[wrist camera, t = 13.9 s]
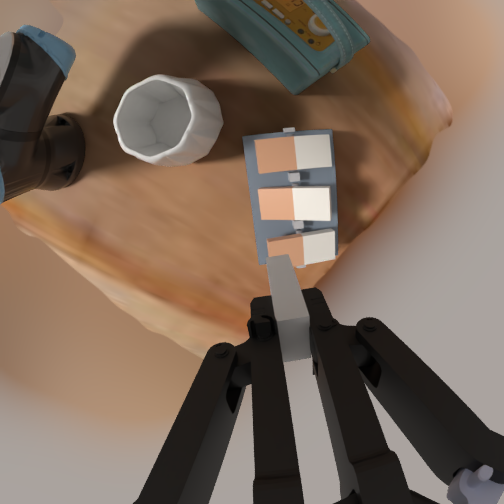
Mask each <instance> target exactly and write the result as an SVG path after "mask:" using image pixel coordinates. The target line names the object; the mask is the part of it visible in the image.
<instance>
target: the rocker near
mask: <svg viewBox="0 0 504 504" xmlns="http://www.w3.org/2000/svg"><path fill="white" fill-rule="evenodd" d="M286 135H287V137H279V138H269V139H260V140H254V141H255V149H256V157H257V165H258V173H259V174H263V173H271V172H280V171H289V170H290V171H298V169H308V168H320V167H332V160H331V148H330V137H329V134H325V135H305V136H294V134H286Z"/></svg>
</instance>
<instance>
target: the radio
mask: <svg viewBox="0 0 504 504" xmlns="http://www.w3.org/2000/svg"><path fill="white" fill-rule="evenodd" d="M195 2H196V5H197V7H198V9H199V10H200V11H201V12H203V13H204V14H205V15H207V16H208V17H209V18H211V19H212V20H213V21H214V22H216V23H217V24H218V25H219V26H221V27H222V28H223V29H224V30H225V31H227V32H228V33H229V34H230V35H231V36H233V37H234V38H235V39H236V40H237V41H238V42H239V43H241V44H242V45H243V46H244V47H245V48H246V49H247V50H248V51H249V52H250V53H252V54H253V55H254V56H255V57H256V58H257V59H258V60H259V61H260V62H261V63H262V64H263V65H264V66H265V67H266V68H267V69H268V70H269V71H270V72H271V73H272V74H273V75H274V76H275V77H276V78H277V79H278V80H279V81H280V82H281V83H282V84H283V85H284V86H285V87H286V88H287V89H288V90H289V91H290V93H291V94H293V95H298V94H299V93H301V92H302V91H303V90H305V89H306V88H307V87H309V86H310V85H311V84H313V83H314V82H316V81H317V80H318V79H320V78H321V77H323V76H324V75H325V74H327V73H328V72H331V73H332V74H333V73H334V72H336V71H337V70H338V69H340V68H341V67H343V66H344V65H346V64H347V63H349V61H350V60H351V59H352V58H353V56H354V54H355V53H356V52H357V51H359V50H360V49H362V48H363V47H364V46H366V45H367V44H369V42H370V38H369V36H368V35H367V34H366V33H365V32H364V31H363V29H362V28H361V27H360V26H359V25H358V24H357V23H356V22H355V21H354V20H353V19H352V18H351V17H350V16H349V15H348V14H347V13H346V12H345V11H344V10H343V9H342V8H341V7H340V6H339V5H338V4H337V3H336V2H334V1H333V0H195ZM248 6H249V7H248ZM272 26H273V27H272ZM282 35H283V36H282ZM314 67H315V68H314Z"/></svg>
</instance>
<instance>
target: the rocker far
mask: <svg viewBox="0 0 504 504" xmlns="http://www.w3.org/2000/svg"><path fill="white" fill-rule="evenodd" d="M267 247H268V256H269V257H272V256H279V255H285V254H289V257H290V260H291V262H292V265H293V267H296V266H301V265H306V264H312V263H317V262H322V261H327V260H332V259H335V231H334V230H333V229H331V228H330V229H323V230H317V231H311V232H305V233H302V229H297V230H296V234H293V235H287V236H281V237H275V238H269V239H267Z"/></svg>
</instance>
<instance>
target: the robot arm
mask: <svg viewBox="0 0 504 504" xmlns="http://www.w3.org/2000/svg"><path fill="white" fill-rule="evenodd" d="M75 58H76V54H75V50H74V49H73V47H72V46H70V45H69V44H68V43H66V42H65V41H63V40H61V39H60V38H58V37H56V36H54V35H52V34H50V33H48V32H44V31H42V30H41V29H39V28H36V27H33V26H30V25H23V26H22V27H20V29H19V30H17V32H16V33H13V32H6V33H4V34H2V35H1V36H0V204H1V203H3V202H5V201H7V200H9V199H11V198H14V197H16V196H18V195H21V194H23V193H25V192H28V191H30V190H33V189H41V190H48V191H54V190H58V189H61V188H64V187H66V186H68V185H69V184H71V183H72V182H73V181H74V180H75V178H76V177H77V175H78V174H79V172H80V170H81V167H82V164H83V161H84V156H85V141H84V136H83V132H82V130H81V128H80V126H79V124H78V123H77V122H76V121H75V120H74V119H73V118H71V117H69V116H67V115H52V116H49V113H50V111H51V108H52V106H53V104H54V101H55V99H56V97H57V95H58V93H59V91H60V89H61V87H62V84H63V82H64V81H65V80H66V79H67V77H68V73H69V71H70V69H71V67H72V65H73V63H74V61H75ZM48 116H49V117H48ZM266 264H267V270H268V277H269V284H270V290H271V295H270V296H263V297H256V298H254V299H253V300H252V302H251V303H250V306H251V318H250V319H249V320H248V323H247V327H248V331H249V336H250V338H249V339H248V340H247V341H246V342H244V343H242V344H240V345H238V346H235V347H234V346H233V345H232V344H230V343H226V342H224V343H218V344H215V345H213V346H212V347H210V349H209V350H208V352H207V354H206V356H205V358H204V360H203V362H202V365H201V367H200V369H199V371H198V373H197V375H196V377H195V379H194V381H193V383H192V386H191V388H190V390H189V392H188V394H187V396H186V398H185V401H184V403H183V405H182V407H181V409H180V411H179V413H178V415H177V417H176V420H175V422H174V424H173V426H172V428H171V430H170V432H169V434H168V437H167V439H166V441H165V443H164V445H163V447H162V449H161V451H160V453H159V455H158V458H157V460H156V462H155V464H154V466H153V468H152V470H151V473H150V475H149V477H148V479H147V481H146V483H145V485H144V487H143V489H142V491H141V493H140V495H139V498H138V499H137V500H136V501H135V502H134V503H133V504H208V503H209V500H210V498H211V495H212V492H213V489H214V486H215V483H216V480H217V477H218V474H219V471H220V468H221V465H222V462H223V459H224V456H225V453H226V450H227V447H228V444H229V441H230V438H231V435H232V431H233V428H234V425H235V422H236V418H237V415H238V412H239V409H240V406H241V402H242V399H243V395H244V392H245V389H246V386H247V385H249V384H252V408H253V435H254V458H255V459H254V460H255V479H254V481H253V504H304V499H303V491H302V484H301V478H300V472H299V465H298V458H297V451H296V444H295V437H294V430H293V424H292V417H291V410H290V403H289V397H288V390H287V384H286V377H285V371H284V365H283V362H288V361H294V360H300V359H306V358H311V354H312V358H313V375H315V376H316V380H317V384H318V388H319V392H320V396H321V400H322V405H323V409H324V413H325V417H326V421H327V426H328V430H329V434H330V438H331V443H332V447H333V452H334V456H335V461H336V465H337V470H338V475H339V480H340V494H341V500H340V501H338V502H336V503H334V504H439V503H437V502H435V501H433V500H431V499H429V498H426V497H425V496H422V495H420V494H419V493H417V492H415V491H412V490H410V489H409V488H408V485H407V482H406V479H405V476H404V473H403V470H402V467H401V464H400V461H399V458H398V456H397V454H396V453H395V452H394V451H391V450H390V449H389V448H388V445H387V443H386V440H385V437H384V434H383V432H382V429H381V426H380V423H379V420H378V418H377V415H376V412H375V410H374V407H373V404H372V402H371V399H370V397H369V394H368V391H367V389H366V386H365V384H366V385H367V387H368V388H369V390H370V391H371V392H372V393H373V395H374V396H375V397H376V399H377V400H378V401H379V402H380V404H381V405H382V406H383V407H384V409H385V410H386V411H387V413H388V414H389V415H390V416H391V418H392V419H393V420H394V422H395V423H396V424H397V426H398V427H399V428H400V430H401V431H402V432H403V433H404V435H405V436H406V437H407V439H408V440H409V441H410V443H411V444H412V445H413V447H414V448H415V449H416V451H417V452H418V453H419V455H420V456H421V457H422V459H423V460H424V461H425V462H426V464H427V465H428V466H429V468H430V469H431V470H432V471H433V473H434V474H435V475H436V476H437V477H438V478H439V479H440V480H441V481H443V482H444V483H445V484H447V485H448V486H449V487H448V493H447V498H448V500H450V501H451V502H452V503H453V504H497V502H498V501H499V499H500V497H501V495H502V493H503V491H504V436H502V435H500V434H498V433H496V432H493V431H492V430H489V428H488V427H487V426H486V425H485V424H484V423H483V422H482V421H481V420H480V419H479V418H478V417H477V416H476V414H475V413H474V412H473V411H472V410H471V409H470V408H469V407H468V406H467V405H466V404H465V403H464V402H463V401H462V400H461V399H460V398H459V397H458V396H457V395H456V394H455V393H454V392H453V391H452V390H451V389H450V387H449V386H447V385H446V383H445V382H443V380H441V379H440V377H439V376H437V374H436V373H435V372H434V371H432V369H431V368H429V367H428V366H427V365H426V364H425V363H424V362H423V361H422V360H421V359H420V358H419V357H418V356H417V355H416V354H415V353H414V352H413V351H412V350H411V349H410V348H409V347H408V346H407V345H406V344H405V343H404V342H403V341H402V340H400V339H399V338H398V337H397V336H396V335H395V334H394V333H393V332H392V331H391V330H390V329H389V328H388V327H387V326H386V325H385V324H384V323H382V322H381V321H380V320H378V319H376V318H373V317H371V318H370V317H368V318H363V319H361V320H360V321H358V323H357V324H356V326H346V325H341V324H339V322H338V321H337V320H336V319H334V318H333V317H332V315H331V312H330V310H329V308H328V306H327V303H326V301H325V299H324V296H323V294H322V292H321V291H320V290H319V289H317V288H309V289H303V290H301V289H300V286H299V283H298V280H297V277H296V274H295V271H294V268H293V265H292V262H291V260H290V257H289V254H285V255H279V256H272V257H266ZM364 383H365V384H364Z"/></svg>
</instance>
